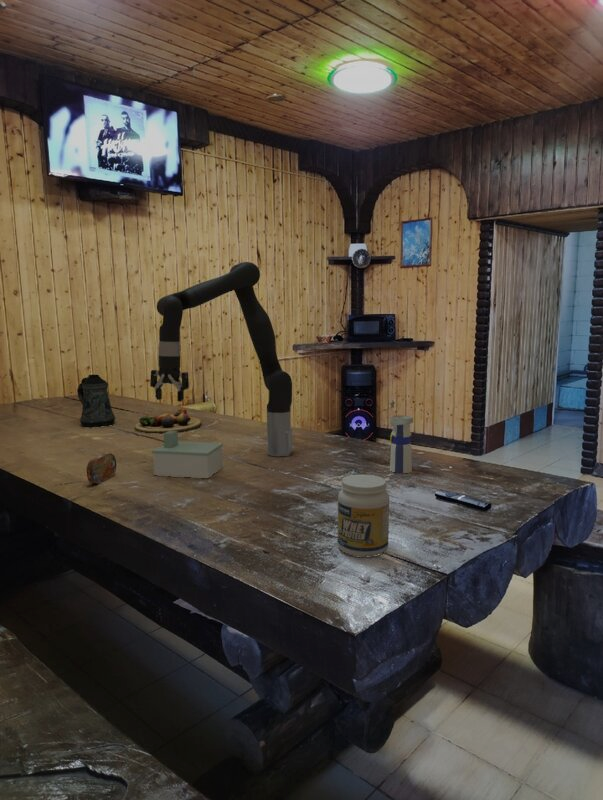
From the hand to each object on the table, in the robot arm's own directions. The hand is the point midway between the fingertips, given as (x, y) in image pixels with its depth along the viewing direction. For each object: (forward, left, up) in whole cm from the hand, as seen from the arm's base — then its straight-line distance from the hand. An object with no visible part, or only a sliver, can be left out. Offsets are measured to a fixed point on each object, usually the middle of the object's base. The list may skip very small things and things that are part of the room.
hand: (169, 400), depth 202 cm
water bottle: (-80, -13, -25) cm, 85 cm away
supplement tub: (-75, +55, -25) cm, 96 cm away
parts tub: (-7, +2, -25) cm, 26 cm away
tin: (+18, +17, -25) cm, 35 cm away
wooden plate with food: (+35, -70, -26) cm, 82 cm away
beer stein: (+74, -67, -25) cm, 103 cm away
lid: (-7, +2, -19) cm, 20 cm away
